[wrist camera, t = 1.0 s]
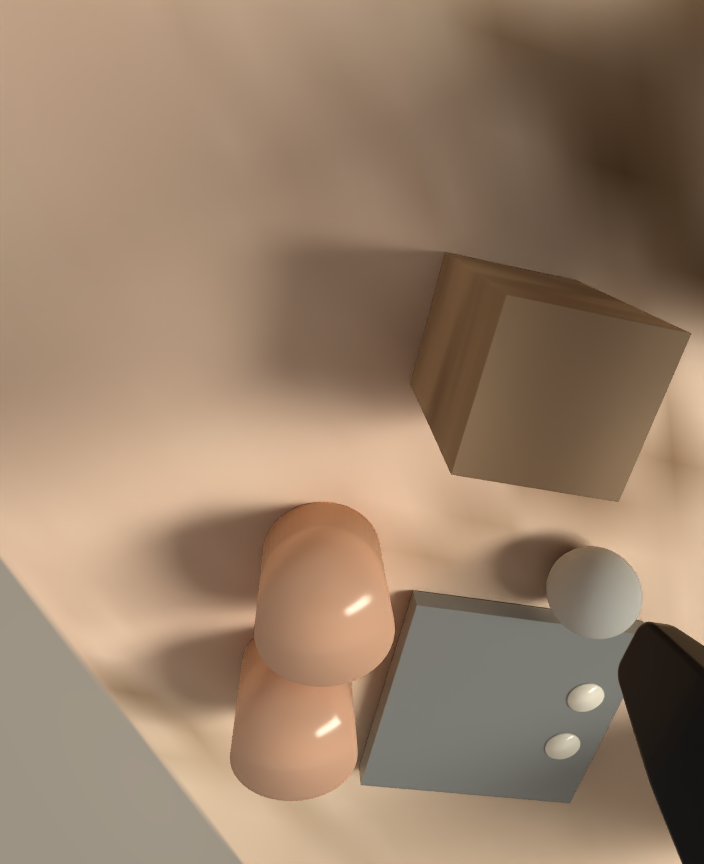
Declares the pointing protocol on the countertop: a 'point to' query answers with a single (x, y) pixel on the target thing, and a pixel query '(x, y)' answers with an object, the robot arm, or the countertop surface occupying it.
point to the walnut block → (540, 378)
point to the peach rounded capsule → (323, 597)
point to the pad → (492, 701)
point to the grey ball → (594, 592)
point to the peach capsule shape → (291, 734)
